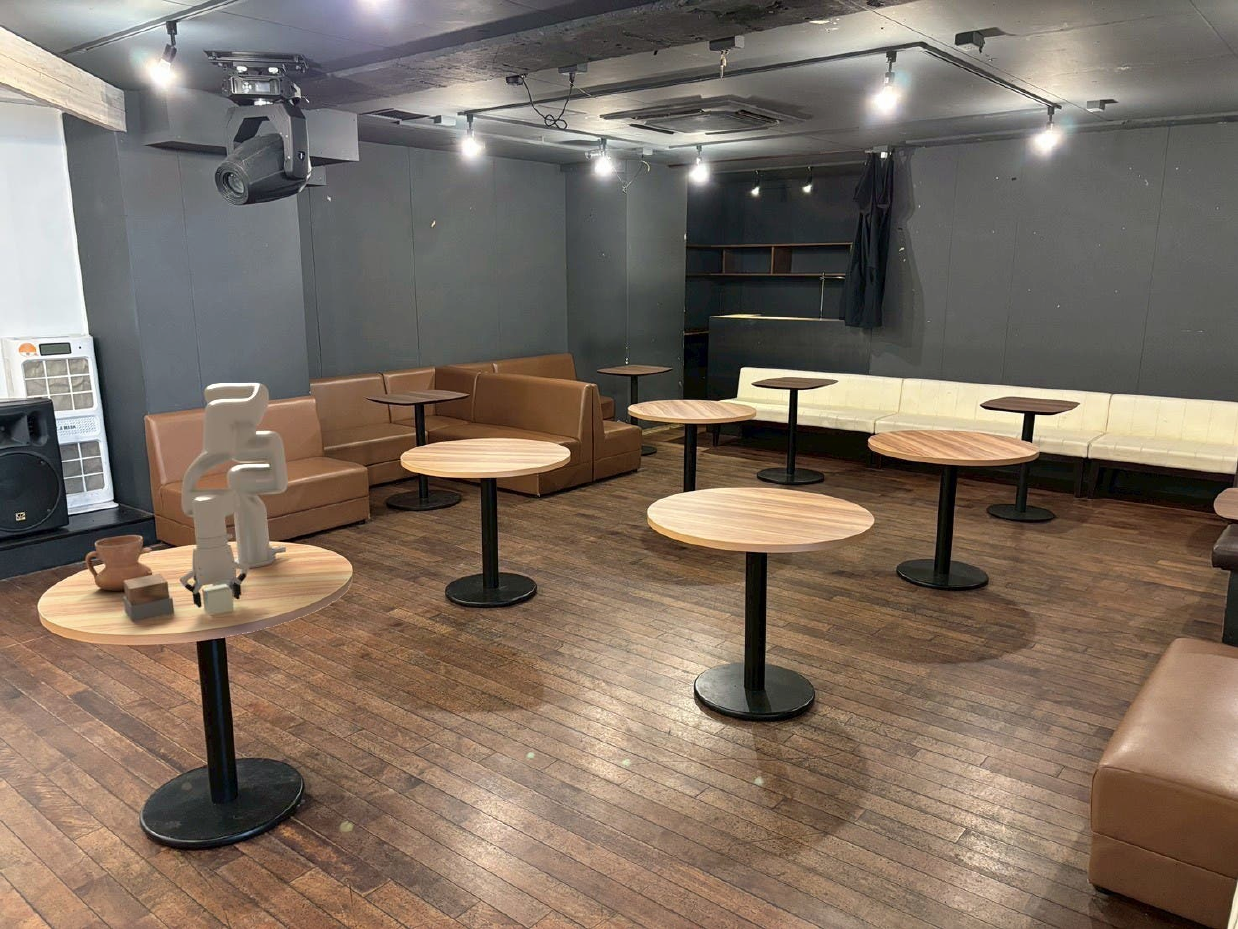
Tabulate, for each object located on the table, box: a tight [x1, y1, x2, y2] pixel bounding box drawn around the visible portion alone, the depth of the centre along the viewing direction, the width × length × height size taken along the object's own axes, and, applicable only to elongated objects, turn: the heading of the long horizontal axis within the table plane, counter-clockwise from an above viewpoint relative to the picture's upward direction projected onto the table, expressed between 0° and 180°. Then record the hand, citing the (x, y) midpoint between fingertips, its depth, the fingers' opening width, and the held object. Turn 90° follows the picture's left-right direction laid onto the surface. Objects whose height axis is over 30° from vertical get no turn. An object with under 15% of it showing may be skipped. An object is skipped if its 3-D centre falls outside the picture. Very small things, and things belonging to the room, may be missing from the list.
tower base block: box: [123, 594, 175, 623], centre depth 233 cm, size 10×10×4 cm
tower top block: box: [123, 573, 170, 605], centre depth 232 cm, size 9×9×4 cm
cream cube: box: [201, 584, 235, 616], centre depth 234 cm, size 6×6×6 cm
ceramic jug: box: [85, 534, 153, 592], centre depth 252 cm, size 18×14×14 cm
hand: (218, 602), depth 234 cm, fingers open, 9 cm apart
